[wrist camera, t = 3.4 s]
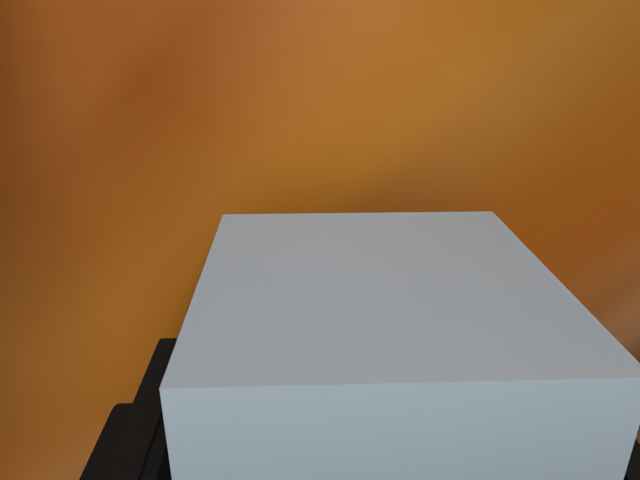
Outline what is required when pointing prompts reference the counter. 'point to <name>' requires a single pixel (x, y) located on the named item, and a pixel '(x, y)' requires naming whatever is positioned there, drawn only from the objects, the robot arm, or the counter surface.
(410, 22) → the counter surface
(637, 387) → the tall pale blue box
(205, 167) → the counter surface
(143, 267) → the counter surface
